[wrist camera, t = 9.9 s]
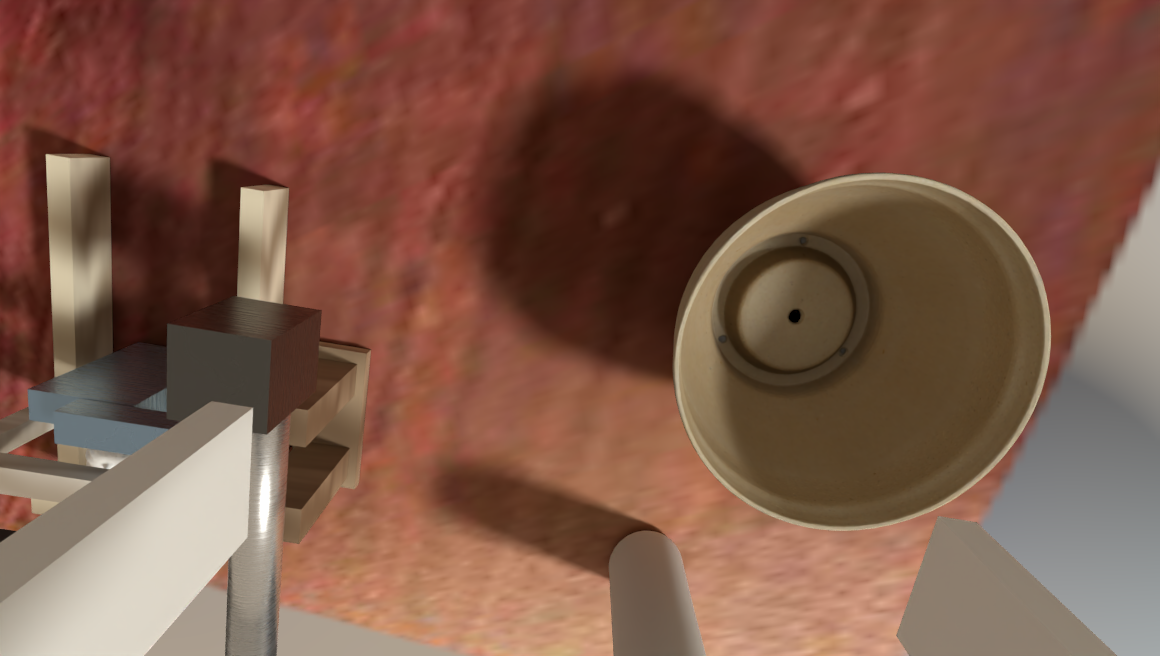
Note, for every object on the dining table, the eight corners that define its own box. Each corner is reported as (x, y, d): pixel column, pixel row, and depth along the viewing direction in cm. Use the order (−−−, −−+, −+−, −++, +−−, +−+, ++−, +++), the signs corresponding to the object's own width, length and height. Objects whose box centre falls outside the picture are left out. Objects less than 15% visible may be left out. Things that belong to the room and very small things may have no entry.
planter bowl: (946, 171, 37) (1091, 179, 26) (901, 437, 41) (1010, 537, 30) (659, 162, 37) (688, 166, 26) (643, 429, 41) (663, 526, 30)
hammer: (137, 238, 37) (-86, 282, 25) (374, 278, 38) (271, 340, 25) (139, 557, 43) (-44, 724, 30) (346, 588, 43) (250, 765, 31)
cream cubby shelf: (304, 338, 40) (236, 384, 32) (370, 349, 40) (319, 397, 32) (295, 473, 42) (230, 546, 34) (358, 482, 42) (307, 557, 34)
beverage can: (609, 590, 44) (618, 748, 32) (606, 526, 43) (615, 666, 31) (681, 588, 44) (716, 745, 32) (681, 524, 43) (717, 664, 31)
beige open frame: (73, 151, 37) (-111, 151, 27) (303, 190, 37) (203, 204, 27) (83, 469, 42) (-70, 565, 32) (284, 500, 42) (195, 604, 33)
